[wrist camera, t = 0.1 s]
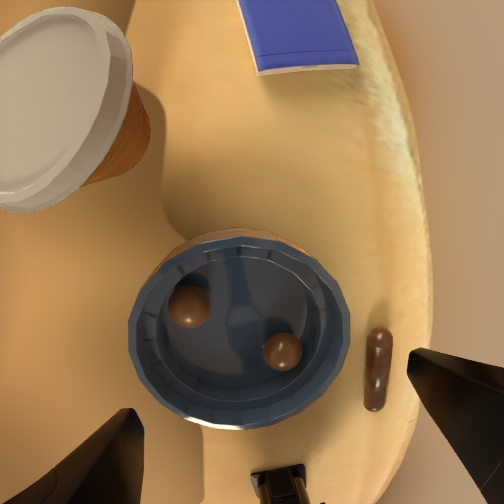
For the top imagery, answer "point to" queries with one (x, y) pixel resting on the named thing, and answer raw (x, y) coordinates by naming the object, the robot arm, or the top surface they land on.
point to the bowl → (239, 330)
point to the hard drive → (296, 36)
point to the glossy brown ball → (189, 306)
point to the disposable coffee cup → (65, 107)
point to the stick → (377, 368)
